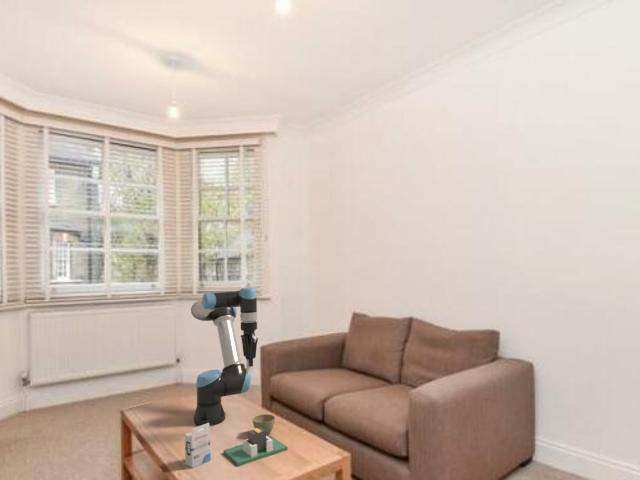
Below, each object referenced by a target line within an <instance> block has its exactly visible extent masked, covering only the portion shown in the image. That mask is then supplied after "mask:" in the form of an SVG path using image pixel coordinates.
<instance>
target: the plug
mask: <svg viewBox="0 0 640 480" xmlns="http://www.w3.org/2000/svg"><path fill="white" fill-rule="evenodd" d="M247 432H248V435H247V436H248V437H247V439H248V442H249V443H250V444H252V445H255V444H257V453H258V452H261V451H264V450H266V430H264V429H263V428H252V430H249V431H247Z"/></svg>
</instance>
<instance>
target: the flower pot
mask: <svg viewBox="0 0 640 480" xmlns="http://www.w3.org/2000/svg"><path fill="white" fill-rule="evenodd" d="M275 421H276V417H275V416H274V415H272V414H266V413H265V414H259V415H258V414H257V415H256V416H253V417H252V424H253V429H255V428H263V429H264V430H266V436H267V437H268V436H269V435H270V434H271V433H272V431H273V429H274V426H275Z"/></svg>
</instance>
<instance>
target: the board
mask: <svg viewBox="0 0 640 480" xmlns="http://www.w3.org/2000/svg"><path fill="white" fill-rule="evenodd" d="M288 448H289V447H288V446H287V445H286V444H284V443H283V442H281V441H279V440H278V439H276V438H275V437H273V436H272V435H270V436H269V435H268V436H266V450H264V451H261V452H258V453H257V444H255V445H252V444H250V443H249V442H248V438H247V439H243V440H242V444H240V445H236V446H233V447H229V448H227V449H223V454H224V455H225V456H226V457H227V458H228V459H229V460H231V462H233V463H234V464H235V465H236V466H237V467H240V466H243V465H246V464H249V463H251V462H255V461H258V460H261V459H263V458H267V457H270V456H274V455H276V454H279V453H283V452H284V451H285V452H286V451H288Z"/></svg>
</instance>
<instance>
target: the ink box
mask: <svg viewBox="0 0 640 480" xmlns="http://www.w3.org/2000/svg"><path fill="white" fill-rule="evenodd" d="M184 452H185V454H184V455H185V456H184V457H185V466H188V467H190V468H192V469H194V468H196V467H198V466H200V465H202V464H205V463H207V462H209V461H211V430H210V426H209V423H206V424H204V425H201V426H199V425H197V426H196V427H193V428H191V431H189V432H188V433H185V434H184Z"/></svg>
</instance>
